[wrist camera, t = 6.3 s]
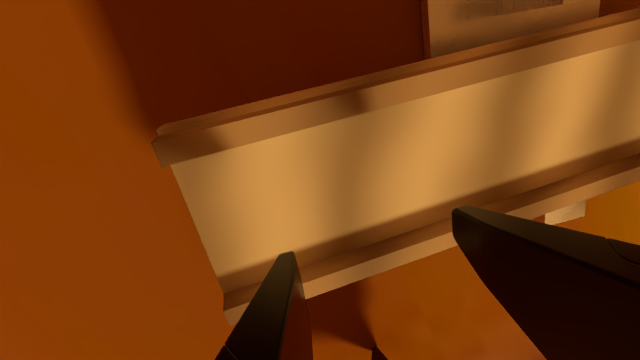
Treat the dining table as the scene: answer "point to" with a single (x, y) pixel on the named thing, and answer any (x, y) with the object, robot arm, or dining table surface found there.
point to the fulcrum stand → (500, 37)
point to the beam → (409, 155)
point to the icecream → (378, 355)
